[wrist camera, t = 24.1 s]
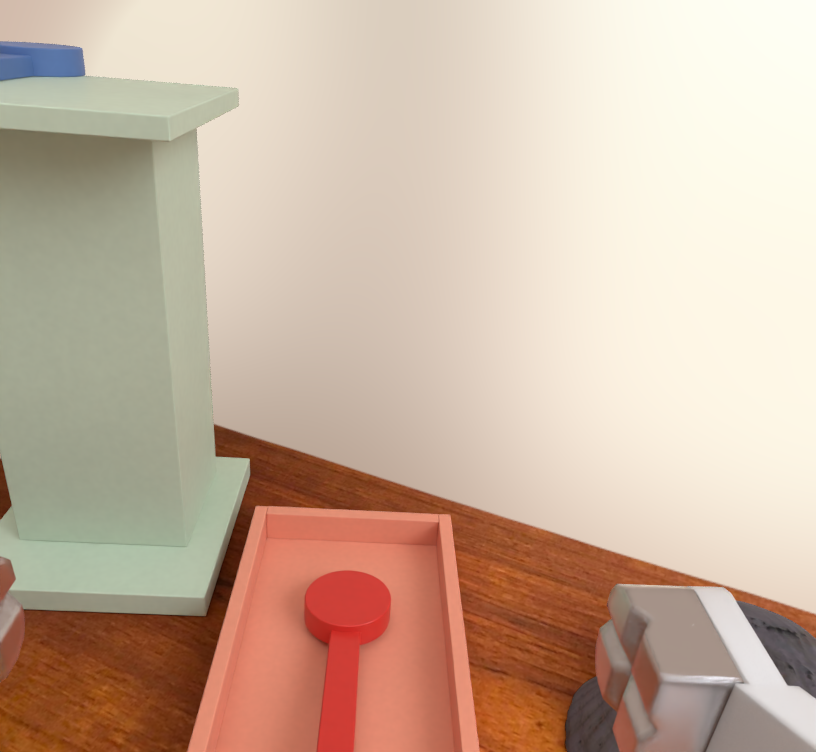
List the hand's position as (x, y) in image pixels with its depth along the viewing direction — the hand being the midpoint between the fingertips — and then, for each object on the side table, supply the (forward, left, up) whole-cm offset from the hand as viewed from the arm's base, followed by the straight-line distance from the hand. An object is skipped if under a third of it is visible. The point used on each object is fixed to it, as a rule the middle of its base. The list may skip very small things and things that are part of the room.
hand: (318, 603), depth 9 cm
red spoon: (0, +15, -22) cm, 26 cm away
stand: (-15, +29, -24) cm, 40 cm away
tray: (0, +17, -24) cm, 29 cm away
